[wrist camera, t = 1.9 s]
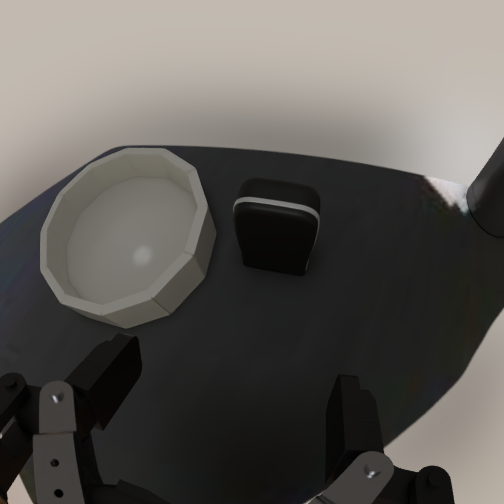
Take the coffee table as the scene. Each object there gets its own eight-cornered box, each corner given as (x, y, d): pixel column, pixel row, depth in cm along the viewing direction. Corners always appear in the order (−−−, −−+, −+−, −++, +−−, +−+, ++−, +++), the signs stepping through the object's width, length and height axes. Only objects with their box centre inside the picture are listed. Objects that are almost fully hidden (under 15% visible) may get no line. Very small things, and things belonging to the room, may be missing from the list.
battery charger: (311, 245, 34) (326, 179, 23) (306, 277, 32) (322, 220, 22) (248, 234, 35) (239, 166, 24) (240, 266, 33) (227, 205, 23)
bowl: (230, 182, 38) (225, 151, 33) (189, 344, 30) (172, 334, 25) (99, 173, 41) (83, 148, 36) (45, 303, 32) (18, 288, 27)
